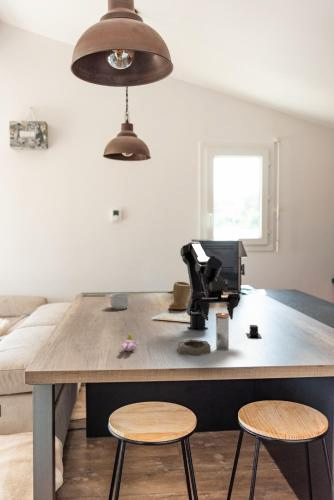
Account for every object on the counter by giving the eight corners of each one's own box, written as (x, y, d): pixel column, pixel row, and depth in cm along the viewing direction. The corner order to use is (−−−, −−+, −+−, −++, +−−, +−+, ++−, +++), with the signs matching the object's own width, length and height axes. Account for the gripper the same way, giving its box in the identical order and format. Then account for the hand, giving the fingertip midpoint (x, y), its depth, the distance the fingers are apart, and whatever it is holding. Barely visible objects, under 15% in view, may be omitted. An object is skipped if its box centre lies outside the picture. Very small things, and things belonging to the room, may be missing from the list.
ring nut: (170, 350, 152) (170, 343, 152) (197, 344, 159) (197, 338, 159) (189, 357, 143) (189, 349, 143) (216, 351, 150) (216, 344, 150)
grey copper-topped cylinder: (213, 348, 154) (213, 313, 154) (222, 346, 157) (222, 312, 157) (222, 351, 151) (222, 315, 150) (231, 348, 153) (231, 314, 153)
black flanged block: (243, 333, 180) (243, 322, 179) (261, 333, 179) (261, 322, 179) (246, 340, 167) (246, 329, 167) (265, 341, 167) (265, 329, 166)
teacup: (132, 309, 236) (132, 295, 235) (112, 310, 232) (112, 296, 231) (125, 305, 249) (124, 291, 248) (106, 306, 245) (106, 292, 244)
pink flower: (123, 349, 159) (116, 353, 145) (123, 332, 160) (117, 335, 145) (140, 349, 159) (135, 353, 144) (140, 332, 160) (135, 335, 145)
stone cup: (189, 311, 229) (189, 283, 229) (167, 310, 231) (167, 282, 231) (192, 306, 244) (192, 280, 244) (171, 306, 246) (171, 280, 246)
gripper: (190, 272, 159) (199, 307, 149) (238, 271, 163) (250, 305, 152) (185, 291, 167) (193, 325, 157) (231, 290, 171) (241, 323, 160)
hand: (219, 319), depth 156 cm, fingers open, 9 cm apart
